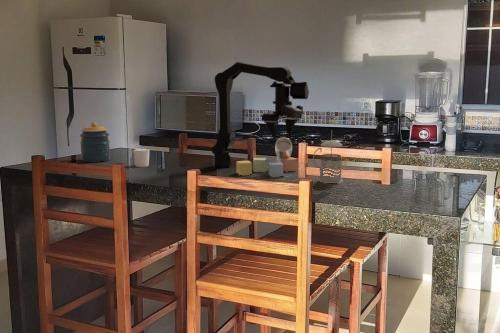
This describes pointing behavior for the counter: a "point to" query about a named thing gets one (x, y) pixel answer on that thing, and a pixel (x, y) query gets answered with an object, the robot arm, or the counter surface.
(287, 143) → the beer glass
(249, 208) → the counter surface
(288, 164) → the terracotta block
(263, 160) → the sage block
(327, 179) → the french press
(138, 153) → the white cup
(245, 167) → the ochre block
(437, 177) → the counter surface
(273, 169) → the grey cube
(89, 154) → the canister
